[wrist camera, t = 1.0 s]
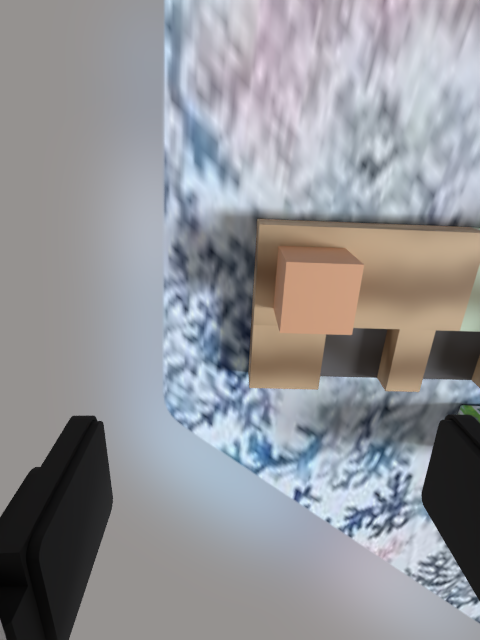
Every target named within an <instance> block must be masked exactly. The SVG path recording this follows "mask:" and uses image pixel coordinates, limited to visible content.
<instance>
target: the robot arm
mask: <svg viewBox="0 0 480 640" xmlns="http://www.w3.org/2000/svg"><path fill="white" fill-rule="evenodd" d="M422 502H423V505H424V507H425V509H426V511H427V512H428V514H429V516H430V517H431V519H432V521H433V523H434V524H435V526H436V528H437V529H438V531H439V533H440V534H441V536H442V538H443V540H444V541H445V543H446V545H447V546H448V548H449V550H450V551H451V553H452V555H453V557H454V558H455V560H456V562H457V563H458V565H459V567H460V568H461V570H462V572H463V574H464V575H465V577H466V579H467V580H468V582H469V584H470V585H471V587H472V589H473V591H474V592H475V594H476V596H477V597H478V599H479V601H480V423H479V422H478V421H477V420H476V419H475V418H474V417H473V416H472V415H468V414H465V415H447V416H446V417H445V420H441V421H440V423H439V426H438V430H437V434H436V438H435V442H434V446H433V450H432V454H431V458H430V462H429V466H428V470H427V474H426V478H425V482H424V486H423V490H422ZM112 503H113V495H112V487H111V480H110V471H109V463H108V456H107V448H106V441H105V433H104V425H103V422H102V421H97V419H96V417H95V416H72V417H71V418H70V420H69V421H68V423H67V425H66V426H65V428H64V430H63V431H62V433H61V434H60V436H59V438H58V439H57V441H56V443H55V444H54V446H53V448H52V449H51V451H50V453H49V454H48V456H47V457H46V459H45V461H44V462H43V464H42V465H41V467H35V468H33V469H32V470H31V471H30V472H29V473H28V475H27V476H26V478H25V479H24V481H23V483H22V484H21V486H20V487H19V489H18V491H17V492H16V494H15V495H14V497H13V498H12V500H11V501H10V503H9V505H8V506H7V508H6V509H5V511H4V512H3V514H2V516H1V517H0V640H69V637H70V634H71V631H72V628H73V625H74V622H75V619H76V616H77V613H78V610H79V607H80V604H81V601H82V598H83V595H84V592H85V589H86V586H87V583H88V579H89V577H90V574H91V571H92V568H93V564H94V561H95V558H96V555H97V552H98V549H99V546H100V543H101V540H102V537H103V534H104V531H105V528H106V525H107V522H108V519H109V516H110V513H111V509H112Z"/></svg>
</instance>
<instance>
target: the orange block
mask: <svg viewBox="0 0 480 640" xmlns="http://www.w3.org/2000/svg"><path fill="white" fill-rule="evenodd" d="M363 269H364V264H363V263H362V262H361V261H359V260H358V259H357V258H356V257H355V256H354V255H353V254H351V253H350V252H349V251H348V250H347V249H346V248H326V247H299V246H278V258H277V270H276V282H275V295H274V307H273V309H274V313H275V316H276V320H277V324H278V328H279V331H280V333H297V334H332V335H352V332H353V326H354V321H355V315H356V309H357V304H358V298H359V292H360V287H361V281H362V275H363Z"/></svg>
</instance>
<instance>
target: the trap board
mask: <svg viewBox="0 0 480 640" xmlns="http://www.w3.org/2000/svg"><path fill="white" fill-rule="evenodd" d="M278 246H299V247H326V248H346V249H347V250H348V251H349V252H350V253H351V254H353V255H354V256H355V257H356V258H357V259H358V260H359V261H361V262H362V263H363V264H364V269H363V275H362V281H361V287H360V292H359V298H358V304H357V309H356V315H355V321H354V326H353V332H352V335H332V334H297V333H280V331H279V328H278V324H277V320H276V316H275V313H274V309H273V307H274V295H275V282H276V270H277V258H278ZM248 374H249V387H250V388H278V389H318V386H319V380H320V376H335V377H375V378H378V380H379V381H380V383H381V384H382V386H383V388H384V389H385V391H406V392H419V391H420V387H421V383H422V380H423V379H456V380H472V381H473V382H474V383H475V384H476V385H477V386H478V387H479V388H480V227H455V226H430V225H404V224H379V223H353V222H328V221H303V220H277V219H257V235H256V252H255V269H254V286H253V303H252V320H251V337H250V354H249V371H248Z"/></svg>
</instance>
